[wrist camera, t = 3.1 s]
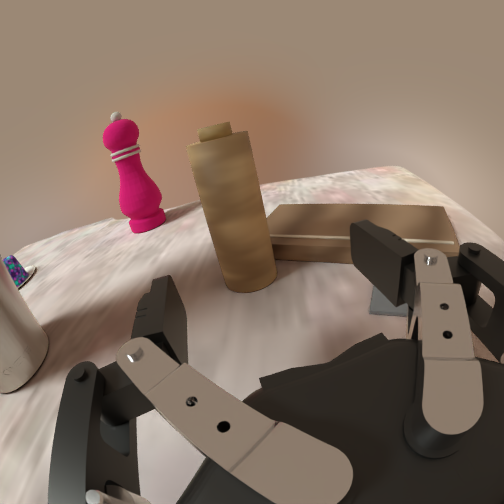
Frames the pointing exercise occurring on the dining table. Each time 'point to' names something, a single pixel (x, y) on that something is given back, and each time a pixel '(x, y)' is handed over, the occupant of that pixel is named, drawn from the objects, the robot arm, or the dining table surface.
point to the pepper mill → (133, 176)
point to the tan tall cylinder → (233, 207)
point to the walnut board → (338, 229)
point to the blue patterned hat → (18, 270)
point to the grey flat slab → (385, 305)
